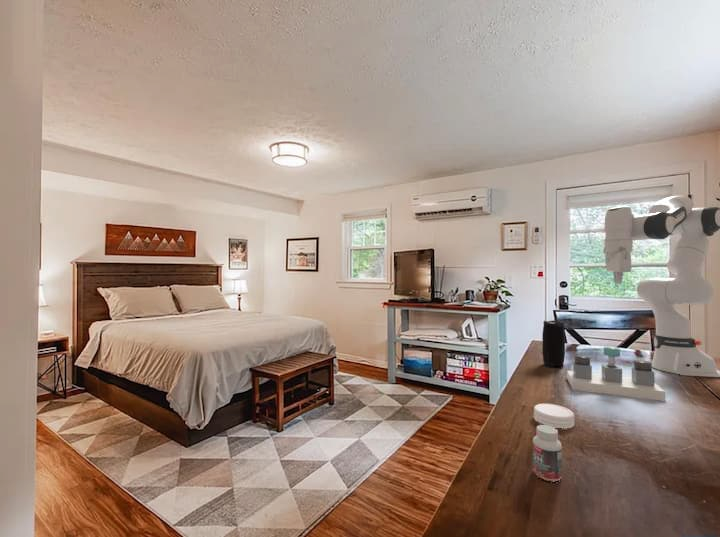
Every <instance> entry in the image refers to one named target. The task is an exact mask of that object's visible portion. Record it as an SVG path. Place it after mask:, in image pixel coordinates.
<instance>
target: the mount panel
mask: <svg viewBox="0 0 720 537" xmlns="http://www.w3.org/2000/svg"><path fill="white" fill-rule="evenodd" d="M572 363H573V369H572V370H567V371H566V379H567V381H568V382H569V386H570V387H571V389H572V390H573V391H581V392H589V393H590V392H591V393H598V394H606V395H615V396H622V397H623V396H624V397H631V398H638V399H648V400H655V401H662V402H663V401H664V402H665V401H666V391H665V390H664V389H663V388H662V387H661V386H659V385H658V384H657V383H656V382H655V371H653V370H652V371H642V370H638V369H635V368H634V366H631V376H625V375H624V376H623V368H621V366H619V365H618V364H617V365H616V364H615V367H611V366H608V364H607V363H601V373H594V372H592V370H593V365H592V364H590V365H580V364H576V363H575V360H573V362H572Z"/></svg>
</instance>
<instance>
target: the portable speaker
mask: <svg viewBox="0 0 720 537" xmlns="http://www.w3.org/2000/svg"><path fill="white" fill-rule="evenodd" d="M541 340H542V341H541V342H542V348H541V349H542V350H541V351H542V352H541V353H542V362H543V364H544V366H545V365H546V366H545V367H548V366H549V367H548V368H554V367H560V368H561V367H563V368H564V363H565V354H566V335H565V324H564V322H562V321H560V320H549V321H548V320H543V328H542V338H541Z"/></svg>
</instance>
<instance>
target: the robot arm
mask: <svg viewBox="0 0 720 537" xmlns="http://www.w3.org/2000/svg"><path fill="white" fill-rule="evenodd" d="M719 230H720V207H718V206H706V207H694V201H693V199H692V198H690V197H689V196H686V195H683V194H682V195H672V196H669V197H666V198H663V199H661V200H658V201H657V202H655V203H654V204H652V205H651V206H650V208H649V210H648V214H639V215H636V214H633V213H632V209H631V206H628V205H623V206H617V207H611V208H609V209H607V210H606V213H605V216H604V233H605V238H604V243H603V244H604V246H603V247H604V248H603V254H604V258H605V259H604V260H605V268H606V272H612V274H613V278H614V279H613V280H614V281H613V283H614V284H617V285H620V284H621V285H622V284H623V277H624V273H630V272H632V271H631V270H632V256H631V253H633V252H634V251H633V250H634V248H633V242H634V241H645V240H666V239H667V238H668V237H670V236H672V235H681V237H680V238H679V240H678V241H677V242H676V244H675V245H674V247H673V250H672V251H671V254H670V256H669V258H668V261H667V263H666V267H667V270H668V272H670V273H671V274H673V275H674V276H675V277H649V278H644V279H641V280H640V281H639V282H638V284H637V286H636V292H637V295H638V297H639V298H640V299H641V300H643V301H644V302H645V304H647V305H648V306H649V307H650V309H651V311H652V313H653V316H654V321H655V334H654V338H653V344H654V345H653V346H654V352H653V358H652V362H651V363H652V369H653V368H654V369H656V370H659V371H663V372H668V373H670V374H671V373H672V374H675V375H679V374H680V376H691V377H709V378H720V370H718V369H717V364H716V361H715V360H714V358H713V357H711V356H710V355H708V354H707V353H706V352H704V351H703V350H701V349H700V348H698V347H697V346H701V345H702V341H701V340H700V339H695V338H693V337H691V324H692V323H691V319H690V318H689V317H688V316H687V315H686V314H684V313H682V312H680V311H679V310H678V309H677V308H676V306H675V304H676V305H686V306H687V305H688V306H695V305H696V306H697V305H699V306H700V305H706V304H708V303H710V302H711V301H712V300H713V299H714V296H715V288H714V286H713V285H712V284H711V283H710V282H709V281H708V280H706V279H705V278H704V277H703V276H702V268H703V265H704V262H705V259H706V257H707V254H708V251H709V246H710V245H709V244H710V241H709V240H710V239H709V238H708V237H712V236H714V235H715V234H716V233H717V232H718V231H719Z"/></svg>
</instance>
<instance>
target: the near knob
mask: <svg viewBox="0 0 720 537" xmlns="http://www.w3.org/2000/svg"><path fill="white" fill-rule="evenodd" d="M633 367H634V368H635V369H638V370H642V371H653V367H652V362H650V361H646V360H641V359H639V360H637V359H635V360H634V362H633Z"/></svg>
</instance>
